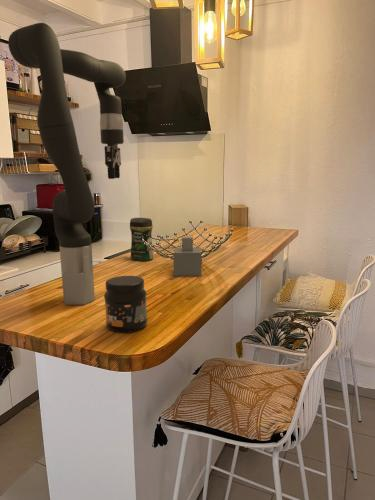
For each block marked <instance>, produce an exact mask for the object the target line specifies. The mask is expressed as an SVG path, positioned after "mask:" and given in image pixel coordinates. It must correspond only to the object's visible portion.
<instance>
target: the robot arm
mask: <svg viewBox="0 0 375 500" xmlns="http://www.w3.org/2000/svg"><path fill="white" fill-rule="evenodd" d="M7 44H8V49H9V52H10V54H11V56H12V57H13V59H14V60H15V61H16V62H17V63H18V64H19V65H21V66H23V67H25V68H31V69H39V73H40V78H41V79H40V80H41V95H40V99H39V104H38V108H37V109H38V110H37V117H36V123H37V127H38V132H39V136H40V140H41V143H42V146H43V149H44V150H45V152H46V154H47V155H48V157H49V159H50V161H51V162H52V163H53V165H54V167H55V168H56V169H57V171H58V174H59V175H60V178H61V180H62V183H63V187H64V190H61V191H59V192H58V193H57V194H56V195H55V196H54V198H53V202H52V216H53V217H52V218H53V225H54V230H55V231H54V232H55V236H56V238H57V240H58V244H59V245H58V246H59V255H60V256H59V257H60V259H59V260H60V270H61V272H60V273H61V283H62V284H61V285H62V294H63V302H64V305H65V306H66V305H67V306H71V305H72V306H73V305H77V306H82V305H83V306H85V305H87V304H89V303H91V302H94V300H95V299H96V295H95V294H96V293H95V281H94V280H95V279H94V267H93V266H94V264H93V246H92V235H91V234H90V233H88V231H86V230H85V228H84V226H83V224H85V223H88V222H90V221H91V219H92V218H93V216H94V214H95V202H94V197H93V194H92V191H91V189H90V185H89V183H88V179H87V176H86V173H85V169H84V164H83V159H82V156H81V154H80V149H79V145H78V140H77V134H76V129H75V125H74V121H73V117H72V115H71V114H72V112H71V109H70V108H71V107H70V103H69V98H68V94H67V93H68V92H67V88H66V82H65V75H69V76H71V77H72V76H73V77H75V78H77V79H82V80H83V81H87V82H90V83H93V84H94V88H95V91H96V95H97V98H98V101H99V113H100V114H99V115H100V118H99V128H100V129H99V130H100V131H99V133H100V143H101V144H102V145H104V147H103V148H104V149H103V150H104V164H105V166H106V168H107V179H108V180H113V179H114V180H115V179H120V177H121V174H120V173H121V172H120V167H121V165H122V162H121V159H122V158H121V148H120V147H118V145H122V144H124V143H125V140H124V122H123V111H122V99H121V97H120V96H118V95H113V94H111V91H110V89H115V88H120V87H122V86H123V85H124V84H125V82H126V77H127V76H126V71H125V69H124V68H123V67H122V66H121V65H120V64H119V63H117V62H114V61H109V60H104V59H98V58H96V57H94V56H92V55H89V54H87V53H84V52H82V51H77V50H70V49H63V48H60V47H61V46H60V43H59V40H58V37H57V35H56V33H55V31H54V30H53V28H52V27H51V26H50V25H48V24H47V23H45V22H37V23H33V24H30V25H26V26H23V27H20V28H18V29H15V30H14V31H12V32H11V33H10V35H9V37H8V43H7ZM64 74H65V75H64Z"/></svg>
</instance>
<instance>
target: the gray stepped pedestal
mask: <svg viewBox="0 0 375 500" xmlns="http://www.w3.org/2000/svg"><path fill="white" fill-rule="evenodd" d="M193 243H194V236H192V235H187V236H186V235H184V236H181V247H174V250H173V252H172V253H173V256H172V257H173V277H201V276H202V247H199V246H197V247H194V244H193Z"/></svg>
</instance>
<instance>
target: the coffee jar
mask: <svg viewBox="0 0 375 500" xmlns="http://www.w3.org/2000/svg"><path fill="white" fill-rule="evenodd" d="M153 226H154V225H153V220H152V219H151V218H149V217H133V218H131V219H130V221H129V229H130V232H131V243H130V244H131V246H130V259H131V260H133V261H138V262H149V261H152V260H153V258H154V250H153V251H152V250H151V249H150V248H149V247H148V246H146V245H145V244H144V242H143V240H142V238H143V239H144V240H145V241H147V242H148V243H150V244H152V245H153V239H151V238H152V232H153V228H154V227H153ZM142 233H143V234H142ZM144 234H145V235H144ZM146 235H147V236H146ZM149 237H150V238H149Z"/></svg>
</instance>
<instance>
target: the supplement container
mask: <svg viewBox="0 0 375 500" xmlns="http://www.w3.org/2000/svg"><path fill="white" fill-rule="evenodd" d="M105 290H106V291H105V292H104V295H103V296H104V304H105V305H104V307H105V309H104V310H105V324H106V328H108V329H109V330H111V331H113V332H115V331H116V333H131V332H136V331H139V330H141V329H143V328H144V327H145V326H146V325H147V323H148V313H147V311H148V309H147V296H148V295H147V291H146V289H145V279H144V278H143V277H141V276H136V275H119V276H114V277H111V278H109V279H106V281H105Z"/></svg>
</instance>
